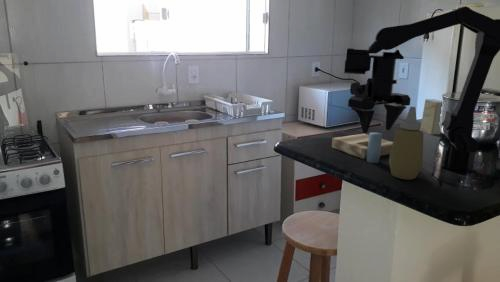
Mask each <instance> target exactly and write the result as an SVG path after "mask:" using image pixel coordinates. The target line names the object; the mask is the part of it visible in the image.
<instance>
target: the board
mask: <svg viewBox="0 0 500 282" xmlns="http://www.w3.org/2000/svg"><path fill="white" fill-rule="evenodd" d="M331 140H332V141H331V148H332V149H336V150H338V151H341V152H344V153H346V154H349V155H352V156H355V157H357V158H360V159H362V160H366V159H367V150H368V141H369V134H368V133H366V134H365V133H360V134H353V135H346V136H345V135H344V136H337V137H332V138H331ZM392 145H393V141H390V140H387V139H383V138H382V141H381V150H380V157H382V155H383V156H387V155H390V153H391V149H392Z"/></svg>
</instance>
